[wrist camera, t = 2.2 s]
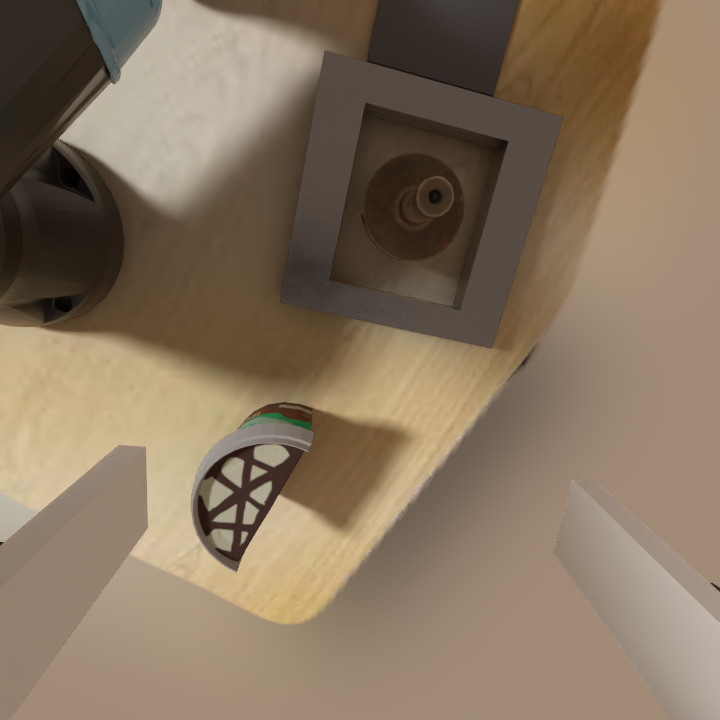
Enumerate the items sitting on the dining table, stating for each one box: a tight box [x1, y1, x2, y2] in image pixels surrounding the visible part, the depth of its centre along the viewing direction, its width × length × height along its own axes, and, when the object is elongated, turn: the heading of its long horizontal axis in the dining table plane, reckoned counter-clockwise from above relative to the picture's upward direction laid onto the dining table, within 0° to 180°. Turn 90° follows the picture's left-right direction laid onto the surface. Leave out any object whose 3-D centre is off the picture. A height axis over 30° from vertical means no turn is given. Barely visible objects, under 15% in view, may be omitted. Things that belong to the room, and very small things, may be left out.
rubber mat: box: [368, 0, 519, 97], centre depth 30 cm, size 10×10×1 cm
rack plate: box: [280, 51, 563, 348], centre depth 33 cm, size 18×18×2 cm
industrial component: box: [356, 153, 466, 261], centre depth 29 cm, size 9×7×12 cm
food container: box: [191, 402, 315, 572], centre depth 34 cm, size 12×6×10 cm, turn 150°
